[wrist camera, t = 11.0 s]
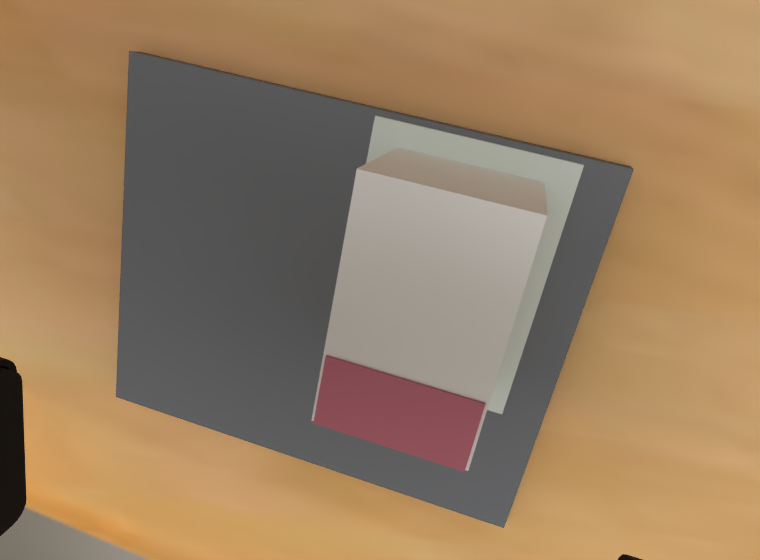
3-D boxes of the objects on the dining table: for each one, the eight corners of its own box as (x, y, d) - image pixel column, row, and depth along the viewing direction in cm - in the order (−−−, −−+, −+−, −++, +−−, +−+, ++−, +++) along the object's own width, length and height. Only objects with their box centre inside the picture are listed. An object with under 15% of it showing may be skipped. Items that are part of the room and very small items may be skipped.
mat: (124, 390, 28) (113, 399, 27) (139, 51, 22) (125, 50, 21) (504, 517, 25) (503, 531, 24) (630, 166, 19) (634, 170, 18)
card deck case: (397, 147, 20) (355, 169, 15) (544, 182, 19) (547, 216, 15) (355, 351, 23) (310, 422, 18) (481, 389, 22) (467, 473, 17)
